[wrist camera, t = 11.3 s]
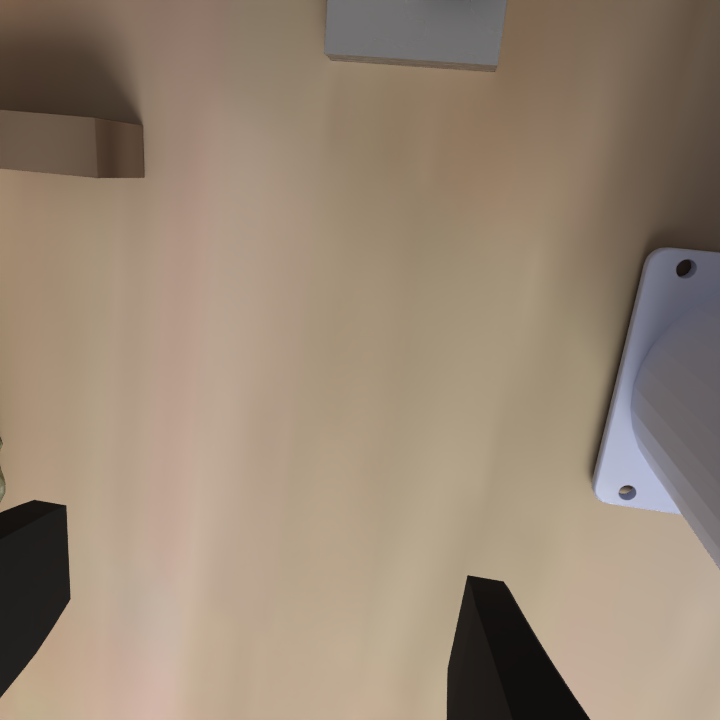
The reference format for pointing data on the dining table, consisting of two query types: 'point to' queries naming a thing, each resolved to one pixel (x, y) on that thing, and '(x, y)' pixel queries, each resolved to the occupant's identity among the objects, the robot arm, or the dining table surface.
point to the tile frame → (70, 145)
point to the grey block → (416, 32)
